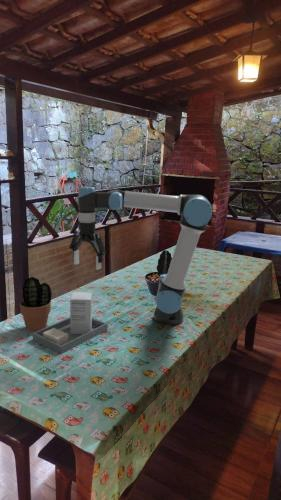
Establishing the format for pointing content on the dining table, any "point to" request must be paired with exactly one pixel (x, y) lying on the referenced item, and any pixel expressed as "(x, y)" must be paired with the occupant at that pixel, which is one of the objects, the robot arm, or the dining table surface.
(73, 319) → the supplement box
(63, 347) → the grey shallow rectangular tray
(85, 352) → the dining table surface
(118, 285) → the dining table surface
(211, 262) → the dining table surface
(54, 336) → the beige block
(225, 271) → the dining table surface
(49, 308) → the potted plant
